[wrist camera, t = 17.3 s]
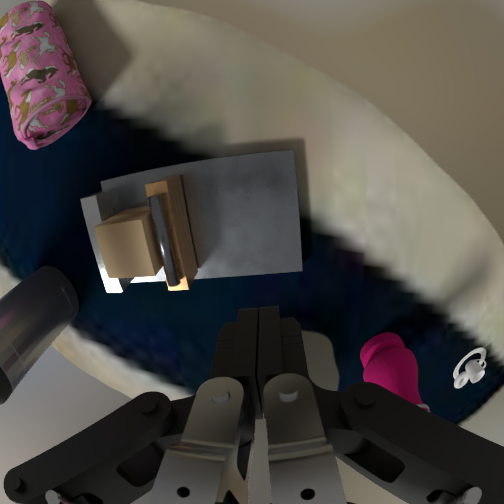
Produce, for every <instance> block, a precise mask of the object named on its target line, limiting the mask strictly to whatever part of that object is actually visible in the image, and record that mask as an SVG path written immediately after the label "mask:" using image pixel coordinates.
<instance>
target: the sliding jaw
mask: <svg viewBox="0 0 504 504" xmlns="http://www.w3.org/2000/svg"><path fill="white" fill-rule="evenodd" d="M145 188H146V194H147V199H148V204H149V209H150V214H151V219H152V224H153V228H154V233H155V237H156V241H157V246H158V250H159V254H160V258H161V262H162V266H163V270H164V274H165V278H166V281H167V285H168V289H169V290H189V288H190V286H191V284H192V282H193V280H194V278H195V276H196V275H197V273H198V268H197V263H196V259H195V254H194V249H193V244H192V239H191V233H190V228H189V223H188V217H187V212H186V206H185V200H184V195H183V189H182V183H181V176H180V175H177V176H171V177H165V178H160V179H158V180H155V181H153V182H150V183H148V184H145Z"/></svg>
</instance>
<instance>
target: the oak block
mask: <svg viewBox="0 0 504 504" xmlns="http://www.w3.org/2000/svg"><path fill="white" fill-rule="evenodd" d="M94 230H95V234H96V238H97V242H98V245H99V249H100V252H101V255H102V259H103V262H104V265H105V269H106V272H107V275H108V278H109V279H114V278H132V277H150V276H156V275H157V273H158V272H159V271H160V269H161V268H162V267H163V266H162V262H161V258H160V254H159V250H158V246H157V241H156V237H155V233H154V228H153V224H152V219H151V214H150V209H149V206H143V207H137V208H131V209H126V210H123V211H121V212H119V213H118V214H116V215H114V216H112V217H110V218H109V219H107V220H105V221H103V222H102V223H100V224H98V225H97V226H95V227H94Z"/></svg>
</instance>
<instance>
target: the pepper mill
mask: <svg viewBox="0 0 504 504" xmlns="http://www.w3.org/2000/svg"><path fill="white" fill-rule="evenodd" d="M360 358H361V361H362V364H363V366H364V368H365V369H364V373H363V378H364V382H372V383H376V384H378V385H380V386H382V387H384V388H386V389H388V390H389V391H391V392H393V393H395V394H397V395H399V396H400V397H402V398H404V399H406V400H408V401H410V402H412V403H413V404H415V405H417V406H419V407H421V408H423V409H425V410H427V411H429V407H428V406H427V405H425V404H423V403H422V401H421V399H420V396H419V393H418V367H417V362H416V359H415V357H414V354H413V353H412V352H411V351H410V350H409V349H407V348H405V346H404V344H403V342H402V340H401V338H400V337H399V336H398V335H397V334H395V333H391V332H385V333H380V334H378V335H376V336H374V337H372V338H371V339H369V340H368V341H367V342H366V343H365V345H364V346H363V348H362V350H361V353H360ZM429 412H430V411H429Z"/></svg>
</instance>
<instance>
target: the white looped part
mask: <svg viewBox="0 0 504 504" xmlns="http://www.w3.org/2000/svg"><path fill="white" fill-rule="evenodd" d="M474 353H480V354H481V359H476V360H470V361H469V362H468V363H467V364H466V367H465V368H466V371H464V372H462V373H460V374H459V373H458V370H459V368H460V366H461V364H462V363H463V362H464V361H465V360H466V359H467V358H468V357H469V356H471V355H472V354H474ZM485 356H486V350H485V348H477V349H475V350H473V351H471V352H470V353H468V354H467V355H466V356H465V357H464V358H463V359H462V360H461V361H460V362H459V364H458V365H457V366H456V368H455V370H454V373H453V377H454V379H455V381H454V386H455V388H461V387H462V386H464V385H465V384H466V382H467V381H468V379H469V378H470V380H471V382H472V383H475V382H477V381H479V380H480V379H481V378H482V377H483V375H484V373H485V371H484V368H485V367H486V362H485V361H484V359H485ZM477 360H480V361H479V363H478V362H477ZM483 362H484V363H485V365H484V367H481V366H480V365H481V364H482V363H483Z"/></svg>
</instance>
